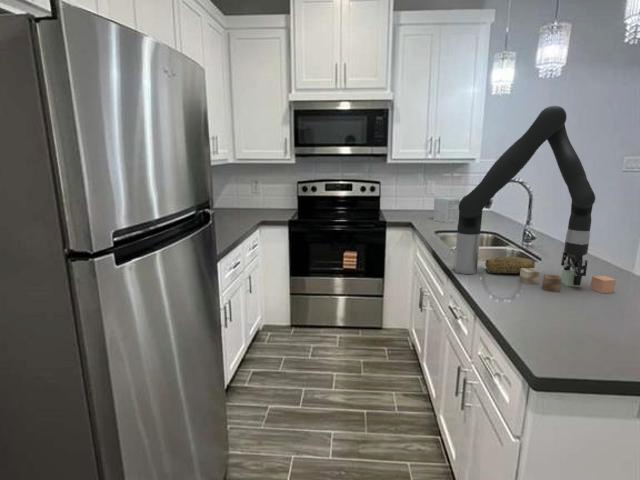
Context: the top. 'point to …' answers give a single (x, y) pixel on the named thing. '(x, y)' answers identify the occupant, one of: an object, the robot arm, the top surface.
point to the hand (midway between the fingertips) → (571, 281)
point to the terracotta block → (602, 284)
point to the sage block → (569, 278)
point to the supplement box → (446, 209)
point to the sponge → (508, 264)
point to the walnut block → (551, 283)
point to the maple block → (529, 276)
